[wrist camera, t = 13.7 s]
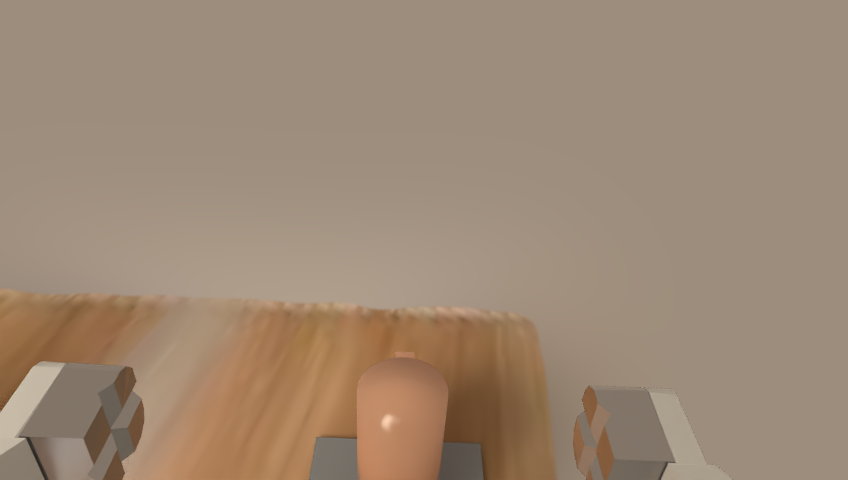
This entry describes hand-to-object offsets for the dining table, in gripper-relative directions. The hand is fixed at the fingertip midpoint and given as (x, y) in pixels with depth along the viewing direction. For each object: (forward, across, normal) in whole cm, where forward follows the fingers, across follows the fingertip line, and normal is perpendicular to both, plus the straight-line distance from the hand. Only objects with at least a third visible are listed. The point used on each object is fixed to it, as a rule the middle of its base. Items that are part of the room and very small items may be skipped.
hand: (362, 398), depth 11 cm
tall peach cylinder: (+17, -1, +29) cm, 34 cm away
